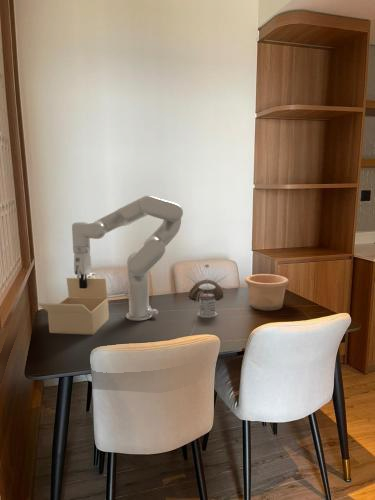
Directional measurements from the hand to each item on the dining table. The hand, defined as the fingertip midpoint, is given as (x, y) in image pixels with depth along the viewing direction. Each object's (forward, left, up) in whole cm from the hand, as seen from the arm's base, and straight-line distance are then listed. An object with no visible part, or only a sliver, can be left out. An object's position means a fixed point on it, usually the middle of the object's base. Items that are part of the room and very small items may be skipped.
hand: (83, 287), depth 178 cm
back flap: (0, -3, -1) cm, 3 cm away
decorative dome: (-54, -44, -16) cm, 72 cm away
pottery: (-86, -31, -16) cm, 93 cm away
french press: (-56, -14, -16) cm, 60 cm away
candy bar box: (+8, -24, -16) cm, 30 cm away
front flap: (0, +20, -3) cm, 21 cm away
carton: (0, +6, -16) cm, 17 cm away
